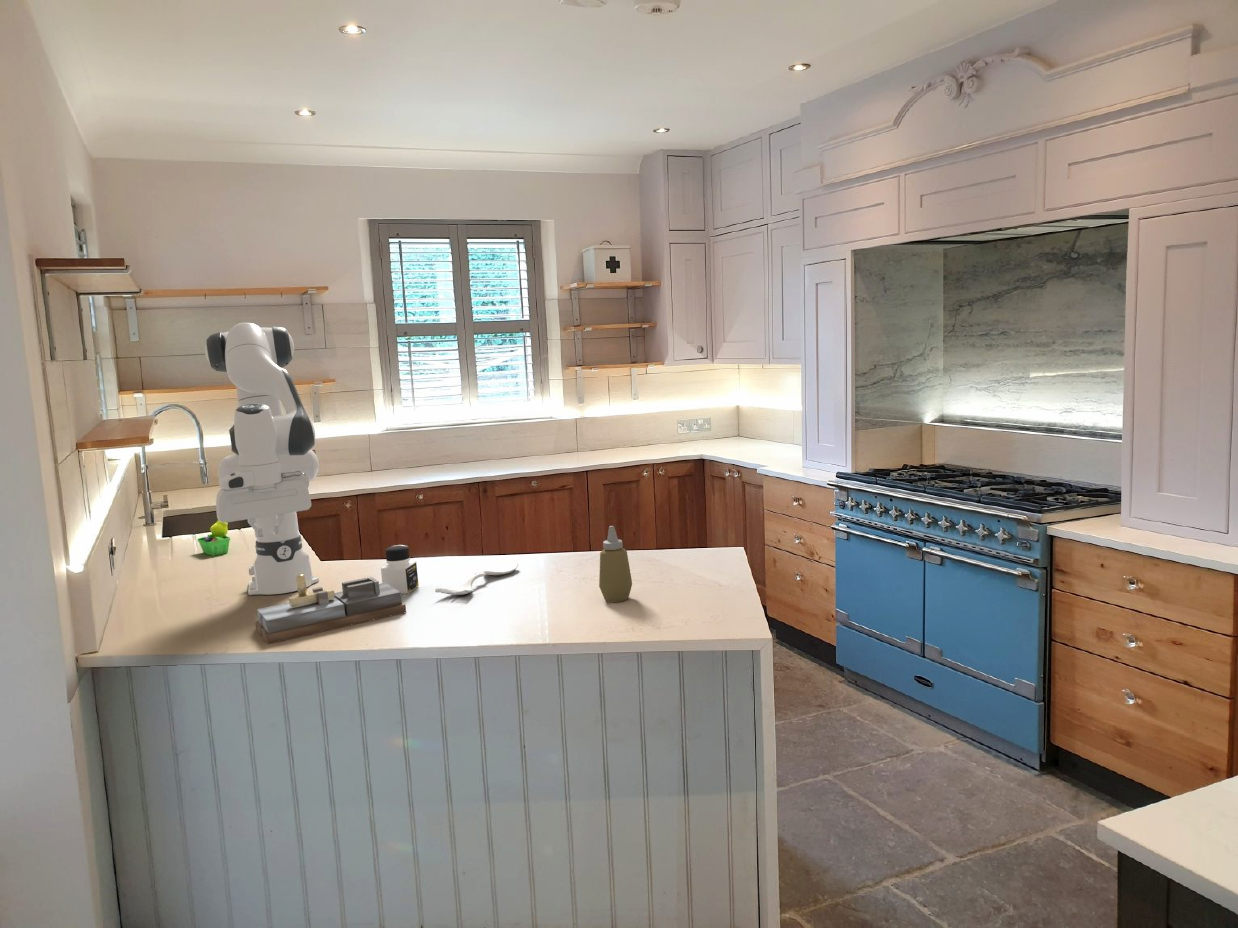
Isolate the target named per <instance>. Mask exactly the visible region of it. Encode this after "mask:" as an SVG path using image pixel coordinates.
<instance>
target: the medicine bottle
mask: <svg viewBox="0 0 1238 928" xmlns="http://www.w3.org/2000/svg"><path fill="white" fill-rule="evenodd" d="M385 561H386V565H384V566H383V567H381V568H380V574H381V583H386V584H388V585H390V586H391V587H393V588H395V589H396V590H398V591H400V592H401V595H405V594H406V595H407V594H408V595H409V594H410V593H411V592H413V591H414V590H416V589H417V588H418V587H419V585H420V584H419V577H418V567H417V566H418V565H417V561H416V560H411V556H410V548H409V546H408V545H405V544H404V545H403V544H397V545H391V546H389V547H387V548H385ZM412 590H413V591H412Z"/></svg>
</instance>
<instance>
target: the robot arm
mask: <svg viewBox="0 0 1238 928" xmlns="http://www.w3.org/2000/svg"><path fill="white" fill-rule="evenodd" d="M205 342H206V343H205V345H204V356H205V358H206V360H207V362H208V364H209V365H210V367H211V369H213V370H214V371H215V372H222V373H227V376H228V379H229V381H230V382H231V383H232V384H233V385H234V386H235V388H236V396H237V399H236V400H237V405H238V407H236V409H235V410H234V414H233V415H234V419H233V421H234V422H233V423H234V424H233V425H232V426H231V427H230V428H229V429H228V433H229V437H230V444H231V445H230V447H231V452H232V453H233V454H229V455H227V456H224V457H223V459H221V461H220V463H219V466H218V469H217V476H218V486H219V488H220V489H219V490H218V492H217V494H216V499H215V500H216V501H215V503H216V504H215V506H216V507H215V509H216V510H215V511H216V512H215V513H216V518H217V520H219V521H221V522H222V523H233V522H238V521H239V522H240V521H245V520H247V523H248V524H249V526H250V527H251V528H252V529H253V530H254V531H253V532H254V536H255V538H256V541H255V545H254V547H255V553H256V554H257V555H256V557H255V559H254V563H253V564H252V566H249V567H248V575H249V576H252V577H251V579H249V580H248V589H247V593H248V594H247V595H249V596H253V595H254V596H255V595H269V596H270V595H281V594H286V593H287V594H288V593H292V592H298V589H297V581H296V575H298V574H305V580H306V588H308V587H310V586H311V585H312V584H315V583H318V582H319V577H318V576H315V575H313V572H312V567H311V559H310V555H309V553H307V552H306V551H305V550H303V549H302V548H303V540H302V537H301V536H302V535H300V532H299V529H300V528H299V523H298V516H297V515H298V514H297V512H302V511H303V512H304V511H309V510H310V508H311V507H312V498H311V495H310V494H311V493H310V491H309V486H310V482H312V481H314V480H315V479H316V477H317V476H318V473H319V470H320V462H319V458H318V456H317V454H316V453H315V451H314V450H313V448H314V447H315V444H316V431H315V428H314V425H313V423H312V421H311V420H310V416H309V415H308V414H307V411H306V409H305V407H304V405H303V402H302V399H301V397H300V395H299V392H298V390H297V387H296V386H295V383H294V380H293V379H292V377H291V375H290V374H289V373H290V372H289V371H288V370H287V369H285V368H284V367H286V366H287V365H289V364H290V362H291V361H292V360H293V356H294V353H295V343H294V340H293V337H292V336H291V334H290V333H289V331H288V330H287V329H286V328H285V327H281V326H272V327H260V326H259V325H258V324H255V323H251V322H240V323H236V324H234V325H233V326H232V327H231V328H230V329H229V330H228V331H224V332H222V331H218V332H216V333H212V334H210V335H209V336H208V338H207V339H206V341H205ZM283 408H284V410H285V413H286V414H284V410H283Z"/></svg>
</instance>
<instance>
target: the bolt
mask: <svg viewBox="0 0 1238 928" xmlns="http://www.w3.org/2000/svg"><path fill="white" fill-rule="evenodd" d="M296 581H297V589H298V590H297V595H294V596H289V597H288V603H289V604H290V606H291V607H297V606H301V605H306V604H311V603H316V602H318V595H317V592H313V591H312V592H308V589H307V588H308V587H306V580H305V574H298V575H296ZM325 590H326V591H327V592H328V600H330V599H335V595H334V593H335V590H334V589H333V588H329V589H323V591H325ZM318 592H320V591H318Z"/></svg>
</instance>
